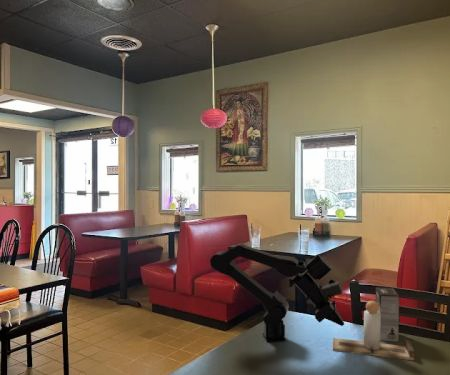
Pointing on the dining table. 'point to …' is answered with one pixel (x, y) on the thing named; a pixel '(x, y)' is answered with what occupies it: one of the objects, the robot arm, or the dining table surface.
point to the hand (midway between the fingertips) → (343, 324)
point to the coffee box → (388, 313)
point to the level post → (372, 326)
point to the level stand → (384, 350)
